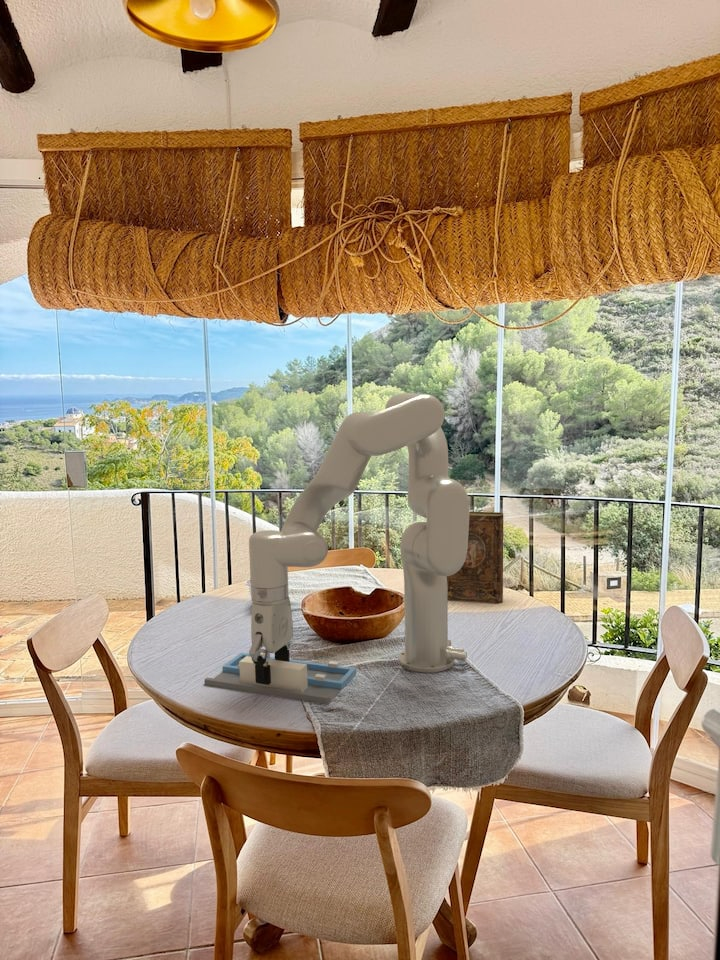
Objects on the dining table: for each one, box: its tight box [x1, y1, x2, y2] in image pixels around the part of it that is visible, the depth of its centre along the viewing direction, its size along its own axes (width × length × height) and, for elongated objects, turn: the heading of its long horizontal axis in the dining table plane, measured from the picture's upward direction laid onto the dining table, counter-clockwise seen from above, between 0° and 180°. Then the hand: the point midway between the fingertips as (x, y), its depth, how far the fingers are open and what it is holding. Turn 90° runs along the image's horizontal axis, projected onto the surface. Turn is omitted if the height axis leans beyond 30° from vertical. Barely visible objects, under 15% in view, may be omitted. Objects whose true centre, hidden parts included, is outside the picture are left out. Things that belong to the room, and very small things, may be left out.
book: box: [447, 511, 504, 605], centre depth 199 cm, size 16×6×25 cm, turn 73°
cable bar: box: [239, 656, 308, 692], centre depth 144 cm, size 14×3×5 cm, turn 69°
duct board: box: [204, 652, 357, 705], centre depth 148 cm, size 28×15×3 cm, turn 69°
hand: (273, 674), depth 144 cm, fingers open, 7 cm apart
